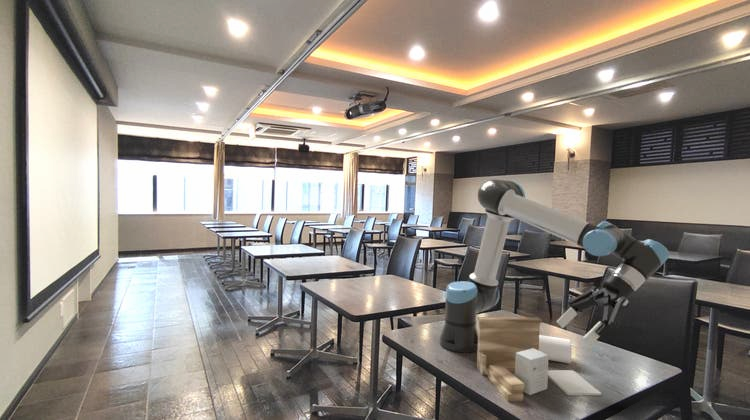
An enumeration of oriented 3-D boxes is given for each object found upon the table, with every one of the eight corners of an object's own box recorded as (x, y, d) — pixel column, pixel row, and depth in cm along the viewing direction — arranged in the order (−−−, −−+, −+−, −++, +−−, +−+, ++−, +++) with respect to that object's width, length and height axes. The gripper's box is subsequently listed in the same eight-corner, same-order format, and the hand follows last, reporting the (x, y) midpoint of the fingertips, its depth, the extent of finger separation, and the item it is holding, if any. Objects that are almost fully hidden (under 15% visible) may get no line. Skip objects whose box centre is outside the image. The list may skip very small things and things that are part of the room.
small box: (531, 380, 112) (533, 347, 112) (547, 389, 107) (549, 354, 107) (513, 386, 109) (515, 352, 108) (529, 395, 104) (531, 359, 103)
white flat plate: (543, 372, 118) (543, 370, 118) (572, 372, 119) (572, 370, 119) (567, 395, 104) (567, 393, 104) (601, 395, 105) (601, 393, 105)
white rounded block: (571, 367, 122) (572, 344, 122) (538, 362, 126) (539, 339, 126) (566, 353, 134) (567, 332, 133) (537, 349, 137) (538, 328, 137)
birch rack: (476, 367, 120) (477, 316, 120) (536, 367, 121) (538, 317, 121) (480, 374, 116) (482, 321, 115) (543, 374, 117) (545, 322, 116)
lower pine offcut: (487, 378, 114) (487, 370, 114) (501, 378, 115) (501, 370, 115) (507, 403, 100) (507, 394, 100) (523, 403, 101) (523, 394, 101)
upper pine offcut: (489, 372, 113) (489, 365, 113) (500, 371, 114) (500, 364, 114) (511, 393, 101) (511, 385, 101) (524, 392, 102) (524, 383, 102)
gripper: (666, 303, 96) (610, 359, 95) (602, 282, 121) (557, 326, 120) (647, 283, 95) (591, 339, 95) (587, 266, 120) (542, 310, 120)
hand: (572, 332), depth 108 cm, fingers open, 13 cm apart
